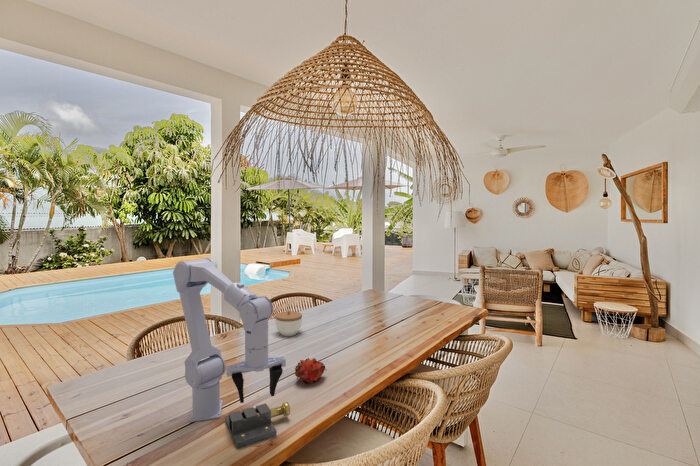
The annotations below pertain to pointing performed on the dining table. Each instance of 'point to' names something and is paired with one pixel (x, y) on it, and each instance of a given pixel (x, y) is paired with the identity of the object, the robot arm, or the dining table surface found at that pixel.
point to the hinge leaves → (250, 425)
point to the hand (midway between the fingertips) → (257, 397)
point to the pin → (280, 410)
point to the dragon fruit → (309, 370)
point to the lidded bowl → (288, 322)
